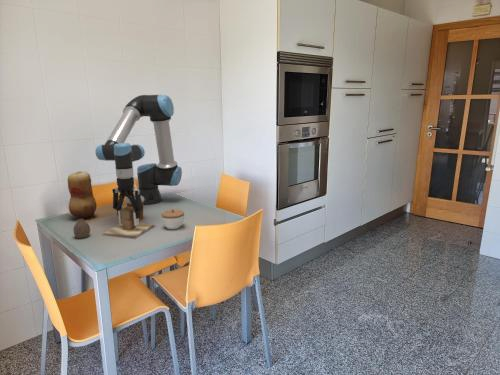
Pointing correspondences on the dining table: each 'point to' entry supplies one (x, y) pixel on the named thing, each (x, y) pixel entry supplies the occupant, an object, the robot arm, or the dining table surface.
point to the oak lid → (128, 225)
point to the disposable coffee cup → (132, 206)
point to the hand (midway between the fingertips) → (129, 223)
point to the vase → (81, 229)
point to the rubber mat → (128, 237)
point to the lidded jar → (173, 219)
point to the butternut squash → (81, 195)
